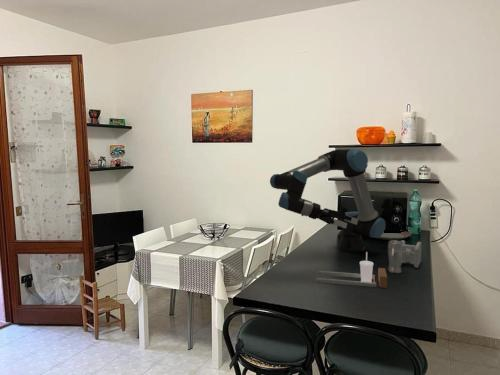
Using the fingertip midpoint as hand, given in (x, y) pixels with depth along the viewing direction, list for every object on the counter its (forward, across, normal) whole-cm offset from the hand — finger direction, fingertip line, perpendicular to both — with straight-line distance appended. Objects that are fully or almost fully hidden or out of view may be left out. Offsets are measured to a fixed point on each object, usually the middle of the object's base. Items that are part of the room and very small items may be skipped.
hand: (351, 224), depth 176 cm
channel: (+7, -1, -26) cm, 26 cm away
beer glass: (+30, -9, -14) cm, 34 cm away
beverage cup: (+13, +1, -24) cm, 28 cm away
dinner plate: (+52, -72, +19) cm, 91 cm away
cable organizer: (+41, -17, -6) cm, 45 cm away
